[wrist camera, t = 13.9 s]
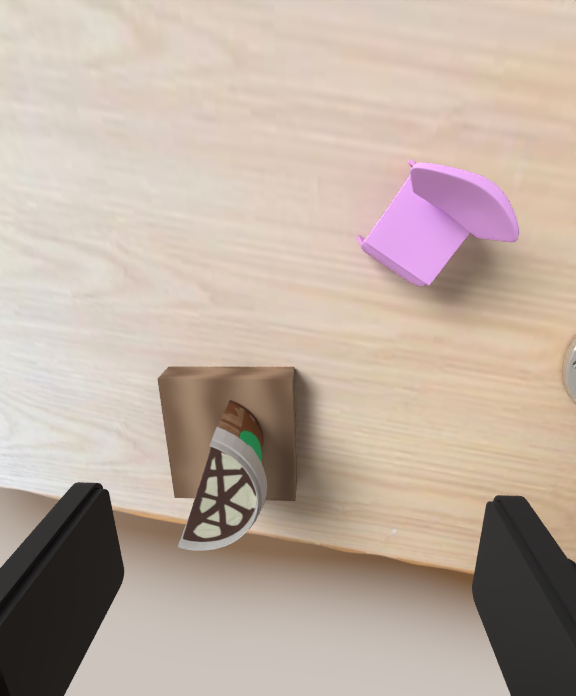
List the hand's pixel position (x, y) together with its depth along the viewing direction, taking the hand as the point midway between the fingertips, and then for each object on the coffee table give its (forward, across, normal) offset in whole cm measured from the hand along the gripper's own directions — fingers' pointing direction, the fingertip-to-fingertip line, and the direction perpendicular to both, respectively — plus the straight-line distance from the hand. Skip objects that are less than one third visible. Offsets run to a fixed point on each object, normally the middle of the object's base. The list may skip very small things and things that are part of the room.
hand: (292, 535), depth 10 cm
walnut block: (+34, +9, +17) cm, 39 cm away
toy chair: (+34, -9, -6) cm, 35 cm away
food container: (+30, +7, +17) cm, 35 cm away
